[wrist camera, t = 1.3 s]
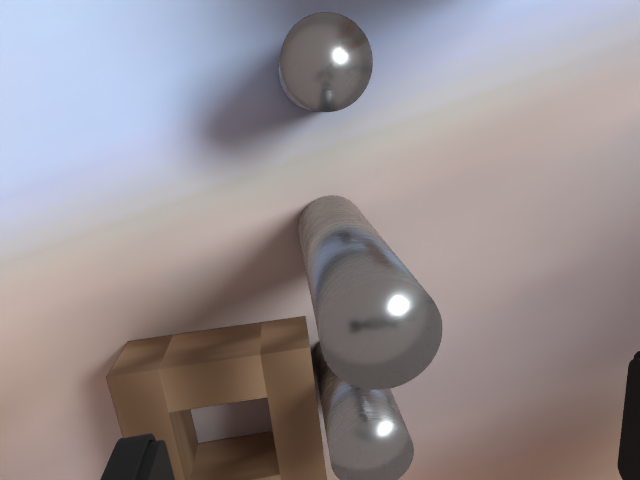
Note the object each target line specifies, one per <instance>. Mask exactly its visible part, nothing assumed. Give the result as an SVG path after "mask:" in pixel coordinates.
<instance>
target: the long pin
mask: <svg viewBox="0 0 640 480" xmlns="http://www.w3.org/2000/svg"><path fill="white" fill-rule="evenodd" d="M298 234H299V239H300V244H301V249H302V254H303V259H304V264H305V269H306V274H307V279H308V284H309V289H310V294H311V299H312V304H313V309H314V314H315V319H316V324H317V329H318V334H319V339H320V344H321V349H322V353H323V356H324V359H325V361H326V363H327V365H328V366H329V368H330V369H331V370H332V371H333V372H334V373H335V374H336V376H338V377H339V378H340V379H342V380H343V381H345V382H346V383H348V384H350V385H353V386H355V387H359V388H363V389H370V390H381V389H388V388H393V387H396V386H399V385H402V384H404V383H406V382H408V381H410V380H412V379H413V378H415V377H416V376H418V375H419V374H420V373H421V372H422V371H423V370H424V369H425V368H426V367H427V366H428V365H429V364H430V363H431V361H432V360H433V358H434V357H435V355H436V353H437V351H438V348H439V345H440V342H441V337H442V320H441V316H440V313H439V310H438V308H437V306H436V304H435V303H434V301H433V300H432V298H431V297H430V296H429V295H428V294H427V292H426V291H425V290H424V289H423V287H422V286H421V285H420V284H419V283H418V281H417V280H416V279H415V278H414V276H413V275H412V274H411V273H410V272H409V270H408V269H407V268H406V267H405V265H404V264H403V263H402V262H401V261H400V259H399V258H398V257H397V256H396V254H395V253H394V252H393V251H392V250H391V248H390V247H389V246H388V245H387V243H386V242H385V241H384V240H383V239H382V237H381V236H380V235H379V234H378V232H377V231H376V230H375V229H374V228H373V226H372V225H371V224H370V223H369V221H368V220H367V219H366V218H365V217H364V215H363V214H362V213H361V212H360V210H359V209H358V208H357V207H356V206H355V205H354V204H353V203H352V202H351V201H349V200H347V199H345V198H343V197H339V196H324V197H321V198H318V199H316V200H314V201H313V202H311V203H310V204H309V205H308V206H307V207H306V208H305V209H304V211H303V212H302V214H301V217H300V219H299V223H298Z"/></svg>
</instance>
